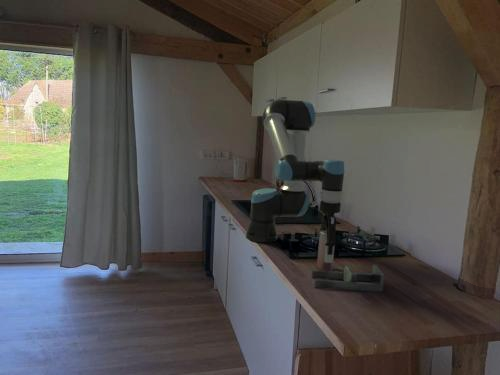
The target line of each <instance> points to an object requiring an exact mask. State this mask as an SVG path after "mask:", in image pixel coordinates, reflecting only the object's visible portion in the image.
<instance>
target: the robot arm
mask: <svg viewBox="0 0 500 375" xmlns="http://www.w3.org/2000/svg"><path fill="white" fill-rule="evenodd" d="M261 120H262V125H263V128H264V129H265V130H267V131H268V134H269V138H270V141H271V144H272V146H273V150H274V153H275V157H276V160H277V162H276V163H275V165H274V166H275V167H274V171H275V173H274V174H275V177H276V179H278V180H279V181H283V185H282V186H280V189H279V190H280V191H278V190H277V189H276V188H269V187H267V188H266V187H265V188H260V189H256V190H254V191H253V192H252V194H251V199H250V204H251V205H250V220H249V224H248V227H247V229H246V232H245V238H246V239H247V240H249V241H251V242H255V243H264V244H266V243H274V242H276V241H277V240H278V230H277V226H276V218H279V217H281V218H283V217H286V218H287V217H293V218H298V217H302V216H304V215H305V214H306V212H307V211H308V208H309V202H310V201H309V200H310V199H309V195H308V193H307V192H306V189H305V188H304V187H303V182H305V181H306V182H321V191H319V194H320V202H319V203H320V204H319V211H321V212H322V219H321V224H320V229H319V231H320V232H321V231H327V243H326V244H325V246H326V252H325V262H326V263H332V262H333V263H334V258H333V251H334V252H335V248H334V246H335V247H336V242H337V240H336V239H337V238H336V232H337V231H336V228H337V226H336V225H337V224H336V223H337V218H336V217H335V214H339V213H340V212H341V206H342V203H341V202H342V198H343V184H344V174H345V161H343V160H341V159H336V158H326V159H325V160H324V161H323V160H314V161H305V150H306V137H307V134H308V133H310V129H311V128H313V127H314V125H315V123H316V110H315V108H314V105H313V103H311V102H309V101H305V100H291V99H276V100H275V99H274V101H271V102H270V103H269V104H268V105H267V106H266V107H265V108H264V110H263V113H262V118H261Z"/></svg>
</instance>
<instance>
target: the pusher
mask: <svg viewBox="0 0 500 375" xmlns="http://www.w3.org/2000/svg"><path fill="white" fill-rule="evenodd" d="M343 272H344V278H343V280H342V281H349V282H358V281H357V274H356V273H357V272H356V271H354V270H353V271H351V270H350V268H349V267H348V266H346V265H345V266H344V270H343Z"/></svg>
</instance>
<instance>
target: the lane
mask: <svg viewBox="0 0 500 375" xmlns="http://www.w3.org/2000/svg"><path fill="white" fill-rule="evenodd" d="M356 274H357V281H356V282H349V281H344V280H343V278H344V271H336V270H335V271H334V270H332V271H321V270H317V269H311V271H310V277H311V279H312V278H313V279H314V283H313V284H314V285H313V287H314V288H316V289H333V290H345V291H346V290H348V291H349V290H350V291H362V292H375V293H376V292H379V293H383V291H384V283H385V276H386V275H385V274H384V273H383V272H382V270H381V269H380V268H379V266H378V265H377V264H372V270H371V273H370V272H369V273H366V272H356Z"/></svg>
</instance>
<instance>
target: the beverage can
mask: <svg viewBox="0 0 500 375" xmlns="http://www.w3.org/2000/svg"><path fill="white" fill-rule="evenodd" d="M318 238H319V239H318V249H317V257H316V258H317V261H316V270H321V271H333V266H334V261H333V262H332V263H326V262H325V252H326V246H325V244H326V243H327V231H320V232H319V236H318ZM335 247H336V245H335V246H334V249H335ZM334 256H335V250H334V251H333V259H334V258H335V257H334Z"/></svg>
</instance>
